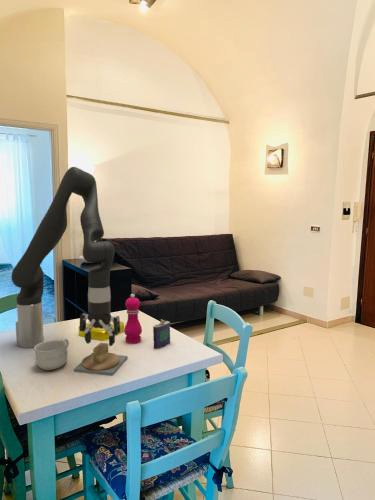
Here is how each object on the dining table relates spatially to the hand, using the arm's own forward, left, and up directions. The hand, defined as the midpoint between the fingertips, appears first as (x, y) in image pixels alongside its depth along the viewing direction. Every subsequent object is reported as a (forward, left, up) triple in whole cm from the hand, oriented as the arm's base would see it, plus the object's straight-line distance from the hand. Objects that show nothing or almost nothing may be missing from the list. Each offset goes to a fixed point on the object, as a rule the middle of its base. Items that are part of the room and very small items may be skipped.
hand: (99, 344), depth 131 cm
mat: (0, 0, -8) cm, 8 cm away
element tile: (-13, +31, -9) cm, 34 cm away
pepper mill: (+3, +24, -8) cm, 26 cm away
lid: (0, 0, -7) cm, 7 cm away
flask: (+16, +22, -8) cm, 29 cm away
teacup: (-16, -3, -8) cm, 18 cm away
